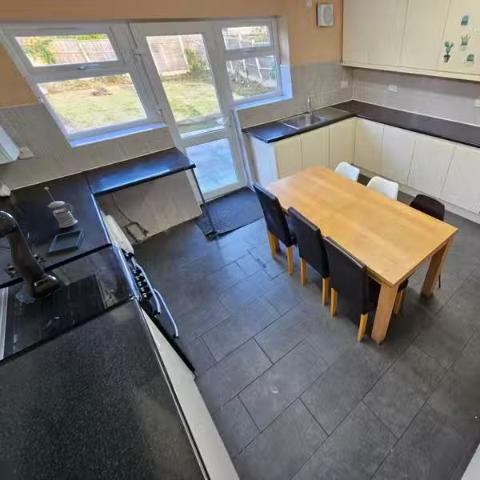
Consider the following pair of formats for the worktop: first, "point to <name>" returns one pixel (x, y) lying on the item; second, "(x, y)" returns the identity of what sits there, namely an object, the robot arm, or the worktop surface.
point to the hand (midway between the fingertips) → (21, 259)
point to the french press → (65, 221)
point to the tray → (66, 241)
